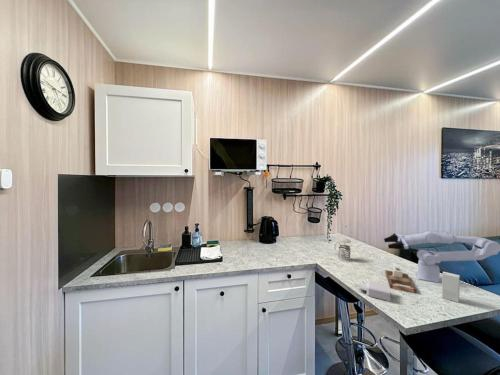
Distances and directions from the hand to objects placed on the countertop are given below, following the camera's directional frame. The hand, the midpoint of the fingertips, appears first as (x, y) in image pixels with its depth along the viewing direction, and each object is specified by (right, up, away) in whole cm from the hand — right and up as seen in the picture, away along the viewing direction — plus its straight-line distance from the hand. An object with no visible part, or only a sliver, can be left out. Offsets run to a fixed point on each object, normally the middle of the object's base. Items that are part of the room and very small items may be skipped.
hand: (386, 243), depth 131 cm
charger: (-23, -19, -25) cm, 39 cm away
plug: (+2, -18, -7) cm, 20 cm away
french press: (-17, -18, +22) cm, 33 cm away
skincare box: (+12, -19, -29) cm, 37 cm away
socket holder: (-1, -18, -12) cm, 22 cm away
